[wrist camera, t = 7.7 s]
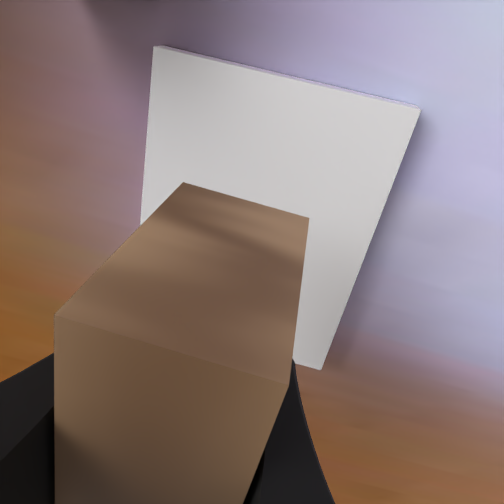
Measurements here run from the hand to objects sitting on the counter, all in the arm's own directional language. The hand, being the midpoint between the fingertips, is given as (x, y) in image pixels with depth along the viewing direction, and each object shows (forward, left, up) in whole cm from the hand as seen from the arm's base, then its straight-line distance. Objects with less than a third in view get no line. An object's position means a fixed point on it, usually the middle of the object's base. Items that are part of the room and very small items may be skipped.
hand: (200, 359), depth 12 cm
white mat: (0, 0, -9) cm, 9 cm away
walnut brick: (0, 0, -2) cm, 2 cm away
